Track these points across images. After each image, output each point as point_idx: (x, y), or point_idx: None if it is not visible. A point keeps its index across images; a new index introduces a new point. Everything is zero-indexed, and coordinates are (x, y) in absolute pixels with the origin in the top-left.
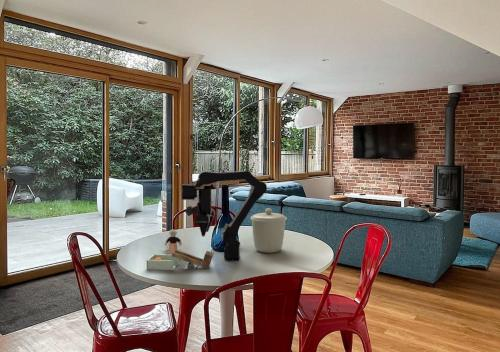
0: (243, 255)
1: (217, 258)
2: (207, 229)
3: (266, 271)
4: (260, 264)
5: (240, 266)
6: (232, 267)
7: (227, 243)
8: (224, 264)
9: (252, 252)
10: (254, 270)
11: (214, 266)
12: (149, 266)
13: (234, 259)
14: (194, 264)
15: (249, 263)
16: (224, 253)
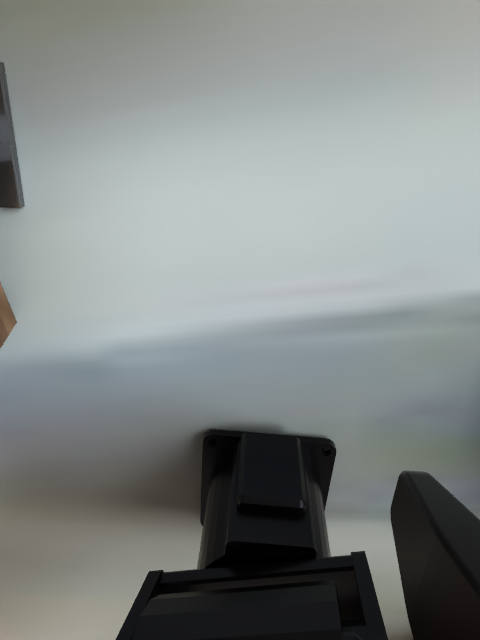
0: (361, 547)
1: (278, 367)
2: (412, 562)
3: (8, 633)
4: None
5: (72, 525)
6: (37, 480)
7: (130, 613)
8: (100, 429)
9: None
10: (8, 587)
11: (28, 358)
12: None
13: (206, 501)
14: (4, 164)
15: None
16: (240, 465)
